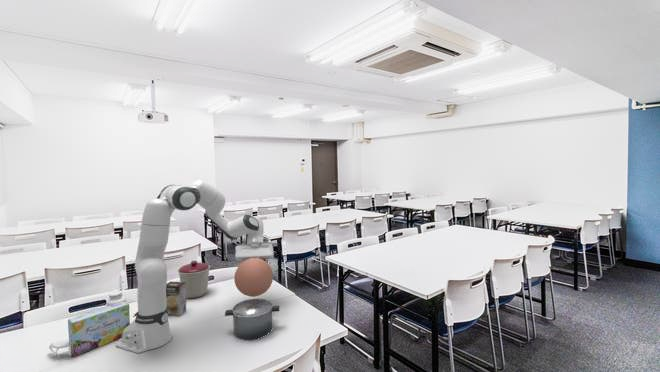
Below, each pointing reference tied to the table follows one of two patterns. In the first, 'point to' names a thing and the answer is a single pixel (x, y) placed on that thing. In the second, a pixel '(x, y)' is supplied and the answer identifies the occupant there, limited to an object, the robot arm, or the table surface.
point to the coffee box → (176, 298)
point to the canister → (195, 278)
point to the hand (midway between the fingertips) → (254, 266)
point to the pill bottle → (115, 298)
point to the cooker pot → (252, 318)
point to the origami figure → (60, 346)
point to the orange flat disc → (253, 277)
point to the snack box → (97, 328)
